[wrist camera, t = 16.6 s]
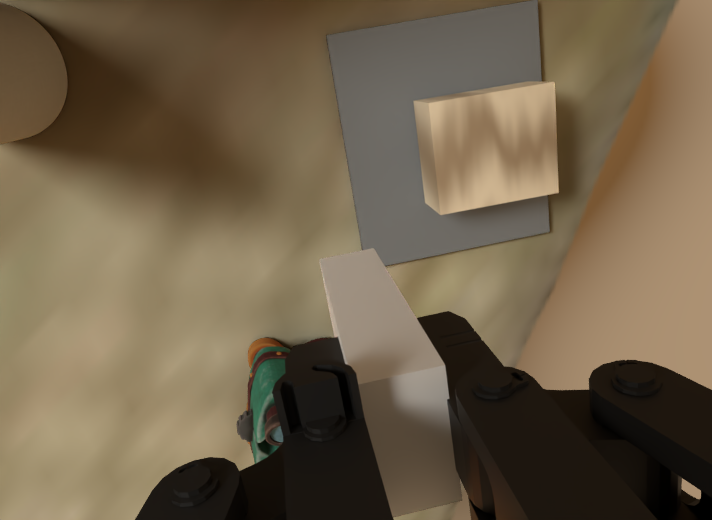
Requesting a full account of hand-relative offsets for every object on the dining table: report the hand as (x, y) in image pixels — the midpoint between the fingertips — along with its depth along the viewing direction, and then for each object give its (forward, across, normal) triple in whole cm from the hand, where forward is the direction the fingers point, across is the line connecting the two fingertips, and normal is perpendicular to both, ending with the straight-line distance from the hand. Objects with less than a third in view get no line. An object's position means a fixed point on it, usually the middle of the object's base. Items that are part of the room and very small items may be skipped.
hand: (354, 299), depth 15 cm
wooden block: (+22, +8, 0) cm, 23 cm away
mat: (+24, +10, 0) cm, 26 cm away
